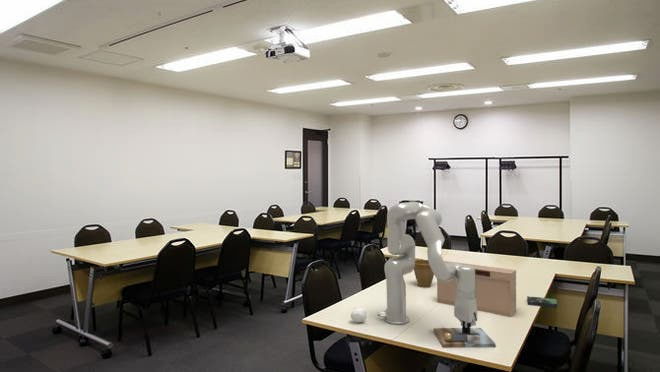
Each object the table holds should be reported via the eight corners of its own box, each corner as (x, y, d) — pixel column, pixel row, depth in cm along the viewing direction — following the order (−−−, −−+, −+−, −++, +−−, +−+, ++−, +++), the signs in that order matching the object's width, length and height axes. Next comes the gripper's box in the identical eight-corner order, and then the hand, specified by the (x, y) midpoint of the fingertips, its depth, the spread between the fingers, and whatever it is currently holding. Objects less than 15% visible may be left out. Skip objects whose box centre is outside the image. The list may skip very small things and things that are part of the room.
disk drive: (527, 306, 230) (558, 308, 224) (527, 301, 230) (558, 303, 224) (526, 300, 239) (556, 303, 234) (526, 296, 239) (555, 298, 234)
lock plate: (443, 347, 176) (443, 337, 176) (433, 331, 194) (433, 321, 194) (495, 347, 175) (495, 336, 175) (480, 331, 193) (480, 321, 193)
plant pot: (434, 283, 278) (433, 259, 278) (437, 289, 263) (437, 264, 263) (411, 283, 280) (411, 259, 279) (413, 289, 265) (413, 264, 264)
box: (510, 317, 210) (510, 273, 210) (436, 303, 236) (436, 263, 236) (516, 312, 218) (516, 270, 217) (444, 298, 244) (444, 260, 243)
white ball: (357, 318, 213) (357, 303, 213) (369, 321, 208) (369, 306, 208) (347, 322, 207) (347, 307, 206) (360, 326, 202) (360, 310, 202)
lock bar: (445, 341, 177) (445, 334, 177) (444, 339, 180) (444, 332, 180) (480, 341, 177) (480, 334, 177) (478, 339, 179) (477, 332, 179)
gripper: (447, 290, 187) (447, 331, 188) (471, 299, 174) (472, 343, 174) (460, 288, 191) (460, 328, 191) (485, 297, 177) (485, 340, 178)
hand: (466, 335), depth 183 cm, fingers closed
